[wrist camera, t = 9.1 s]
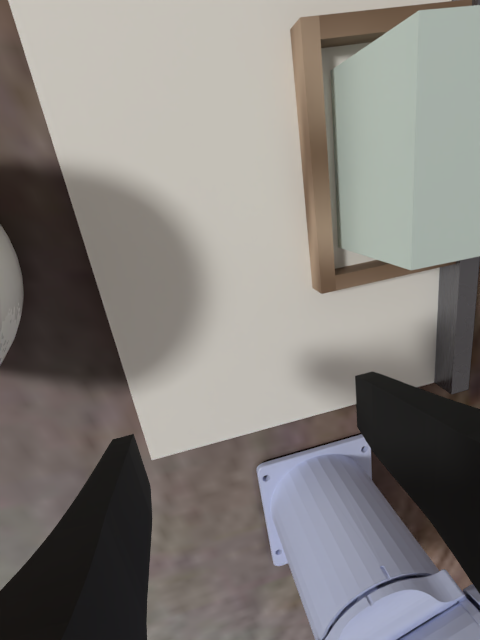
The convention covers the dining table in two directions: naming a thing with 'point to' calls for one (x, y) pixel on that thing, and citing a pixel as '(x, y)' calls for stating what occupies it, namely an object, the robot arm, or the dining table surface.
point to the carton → (411, 141)
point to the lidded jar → (9, 294)
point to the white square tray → (232, 210)
